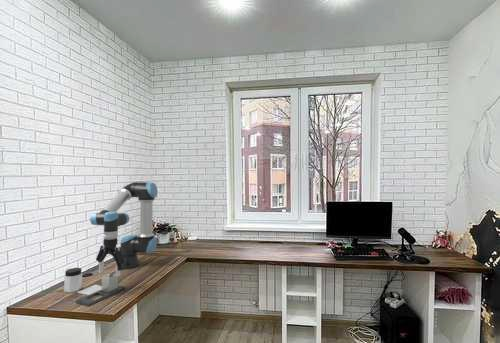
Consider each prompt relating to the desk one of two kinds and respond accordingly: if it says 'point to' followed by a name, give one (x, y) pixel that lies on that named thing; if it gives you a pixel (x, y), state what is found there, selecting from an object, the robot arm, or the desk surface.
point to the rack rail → (89, 302)
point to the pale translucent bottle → (109, 283)
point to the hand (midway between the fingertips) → (109, 274)
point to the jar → (72, 280)
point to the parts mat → (90, 290)
